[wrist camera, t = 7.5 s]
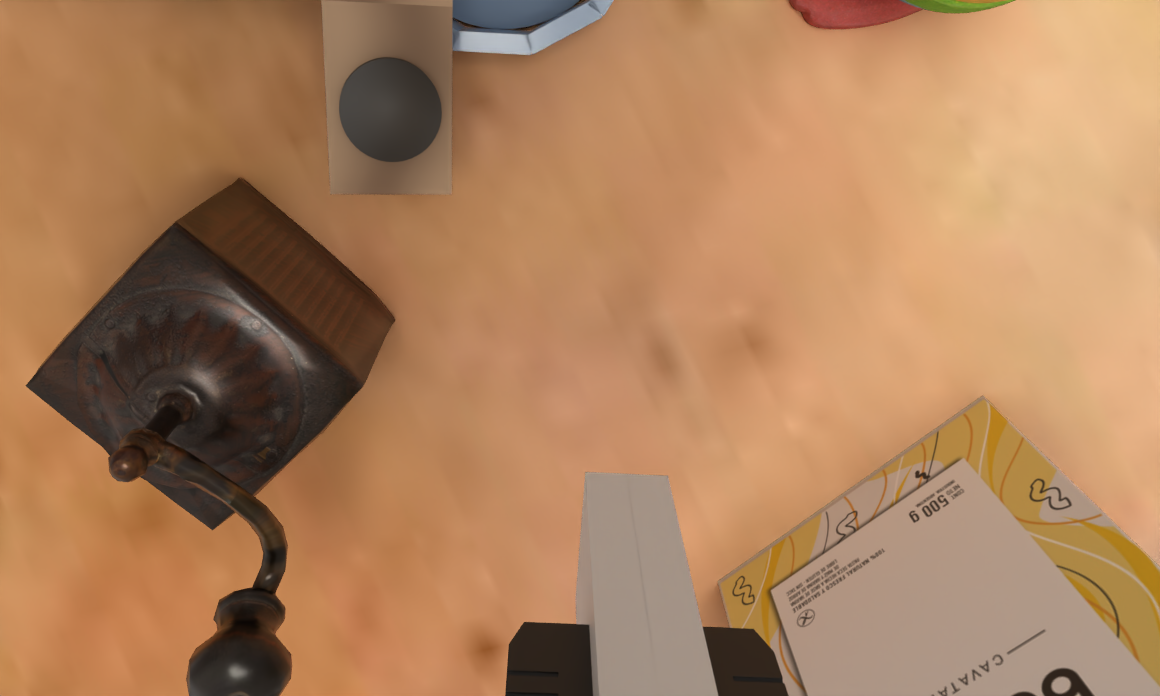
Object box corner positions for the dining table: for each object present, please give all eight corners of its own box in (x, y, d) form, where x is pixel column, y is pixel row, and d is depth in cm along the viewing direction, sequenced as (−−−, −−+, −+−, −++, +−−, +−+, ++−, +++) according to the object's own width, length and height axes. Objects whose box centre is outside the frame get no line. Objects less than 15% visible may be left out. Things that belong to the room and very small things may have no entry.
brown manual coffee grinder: (105, 320, 47) (-142, 506, 31) (242, 170, 45) (52, 284, 28) (337, 507, 52) (232, 758, 35) (474, 380, 49) (432, 587, 32)
